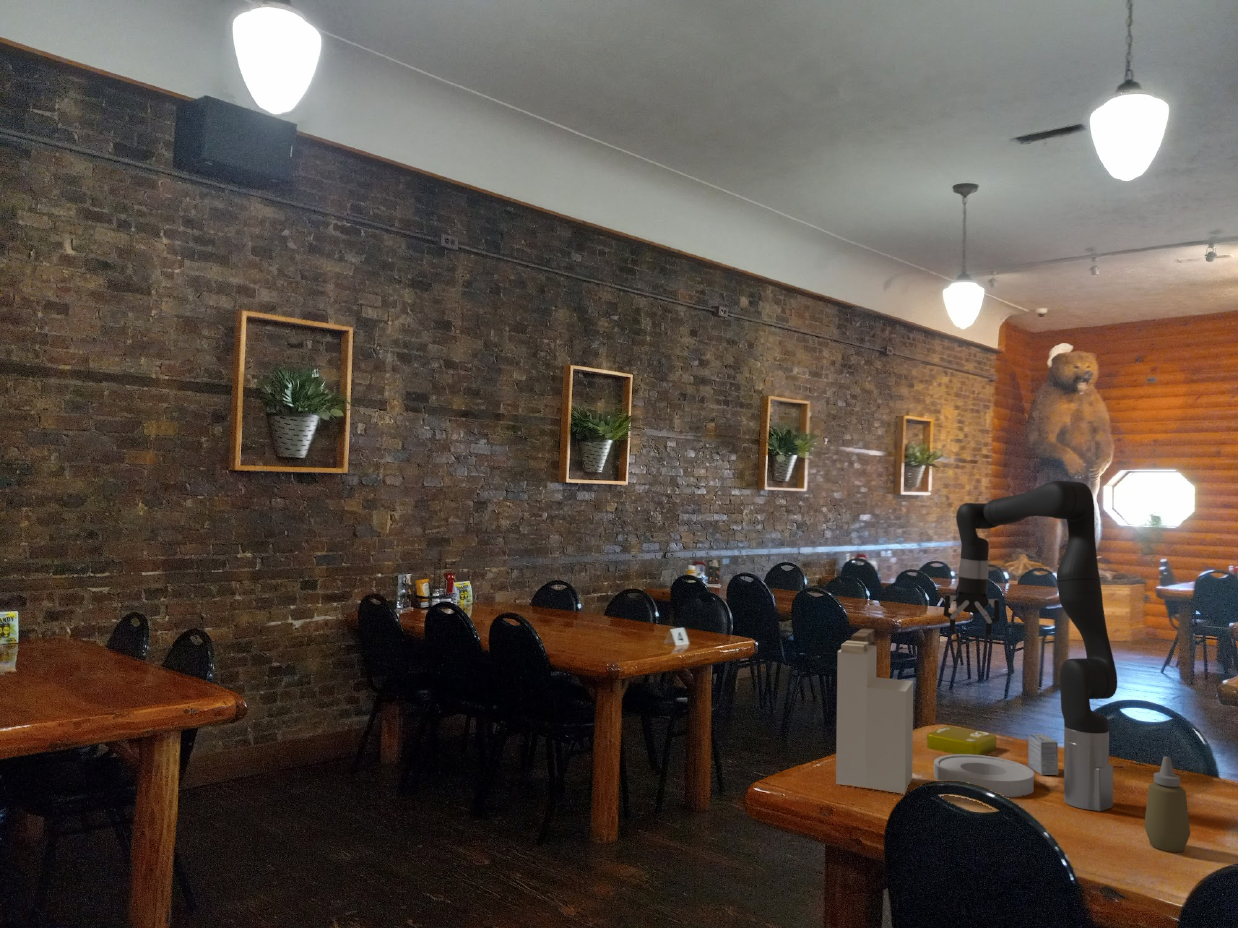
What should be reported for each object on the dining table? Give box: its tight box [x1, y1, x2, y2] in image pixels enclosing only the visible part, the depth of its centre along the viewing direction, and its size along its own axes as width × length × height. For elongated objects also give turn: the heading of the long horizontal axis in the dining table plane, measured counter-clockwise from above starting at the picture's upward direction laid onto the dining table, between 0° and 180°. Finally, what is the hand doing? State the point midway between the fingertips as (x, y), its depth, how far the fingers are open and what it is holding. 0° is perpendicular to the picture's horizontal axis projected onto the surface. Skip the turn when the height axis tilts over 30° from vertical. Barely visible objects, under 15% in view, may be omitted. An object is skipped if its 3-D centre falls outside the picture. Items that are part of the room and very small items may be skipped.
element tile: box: [926, 725, 997, 756], centre depth 259 cm, size 15×15×5 cm
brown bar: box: [840, 628, 875, 654], centre depth 232 cm, size 24×5×3 cm, turn 156°
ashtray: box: [933, 754, 1035, 798], centre depth 227 cm, size 23×23×4 cm
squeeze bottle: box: [1143, 755, 1191, 853], centre depth 185 cm, size 8×8×18 cm
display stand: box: [835, 644, 914, 796], centre depth 226 cm, size 15×16×32 cm
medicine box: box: [1027, 733, 1059, 776], centre depth 237 cm, size 8×4×9 cm, turn 179°
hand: (970, 634), depth 252 cm, fingers open, 8 cm apart
